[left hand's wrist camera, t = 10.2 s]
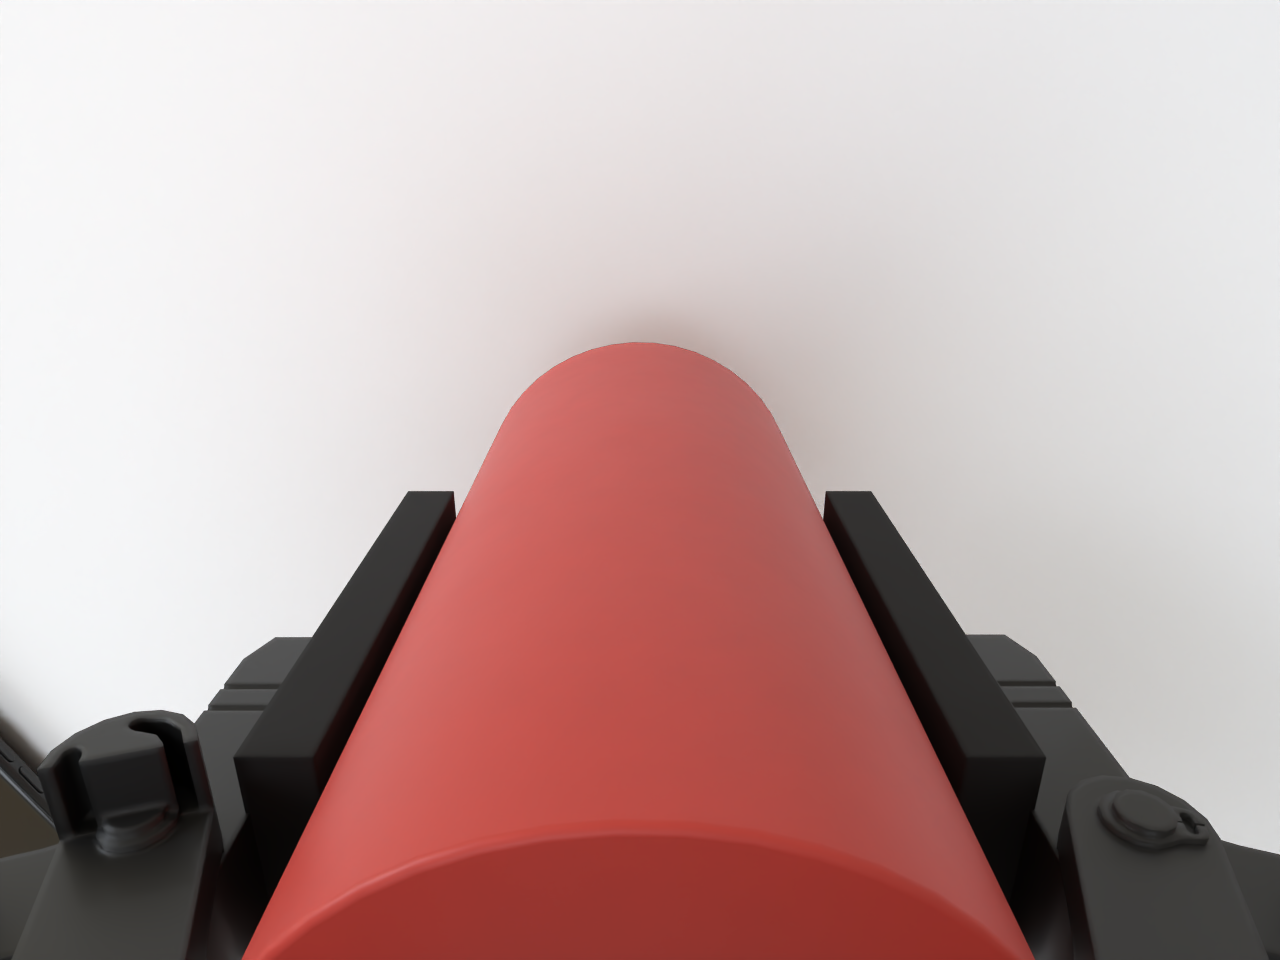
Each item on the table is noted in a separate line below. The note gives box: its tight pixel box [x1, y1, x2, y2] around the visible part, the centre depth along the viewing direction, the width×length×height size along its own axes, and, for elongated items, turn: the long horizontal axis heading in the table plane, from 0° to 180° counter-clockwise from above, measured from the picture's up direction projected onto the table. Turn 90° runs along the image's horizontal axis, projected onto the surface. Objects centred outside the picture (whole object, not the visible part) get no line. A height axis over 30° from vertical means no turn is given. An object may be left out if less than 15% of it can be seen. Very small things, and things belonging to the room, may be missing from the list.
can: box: [241, 342, 1035, 960], centre depth 12 cm, size 6×6×12 cm
